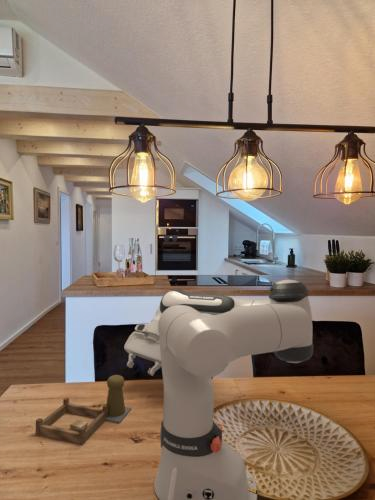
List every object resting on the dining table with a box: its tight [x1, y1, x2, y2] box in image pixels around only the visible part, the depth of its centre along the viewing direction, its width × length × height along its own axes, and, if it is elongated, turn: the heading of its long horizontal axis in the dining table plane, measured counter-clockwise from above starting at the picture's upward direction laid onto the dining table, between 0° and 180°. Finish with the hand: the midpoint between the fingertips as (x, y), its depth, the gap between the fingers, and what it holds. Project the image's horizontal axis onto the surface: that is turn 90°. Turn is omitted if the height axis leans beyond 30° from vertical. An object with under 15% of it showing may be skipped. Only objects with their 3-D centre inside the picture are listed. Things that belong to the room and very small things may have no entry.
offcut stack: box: [68, 419, 89, 432], centre depth 89 cm, size 5×4×4 cm
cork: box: [105, 374, 126, 417], centre depth 101 cm, size 6×6×11 cm
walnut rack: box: [35, 397, 108, 446], centre depth 94 cm, size 15×13×4 cm
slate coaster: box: [94, 406, 132, 425], centre depth 100 cm, size 8×8×1 cm
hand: (139, 370), depth 110 cm, fingers open, 8 cm apart
